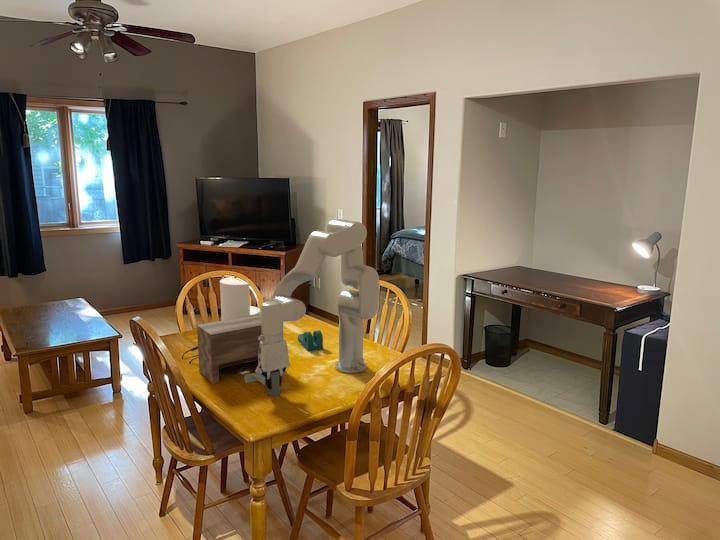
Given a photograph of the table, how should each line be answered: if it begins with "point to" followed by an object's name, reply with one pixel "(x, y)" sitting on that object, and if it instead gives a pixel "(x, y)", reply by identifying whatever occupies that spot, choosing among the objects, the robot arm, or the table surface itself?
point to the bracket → (311, 340)
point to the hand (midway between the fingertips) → (273, 386)
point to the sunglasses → (191, 350)
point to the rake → (257, 377)
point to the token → (243, 370)
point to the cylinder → (235, 299)
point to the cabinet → (227, 344)
